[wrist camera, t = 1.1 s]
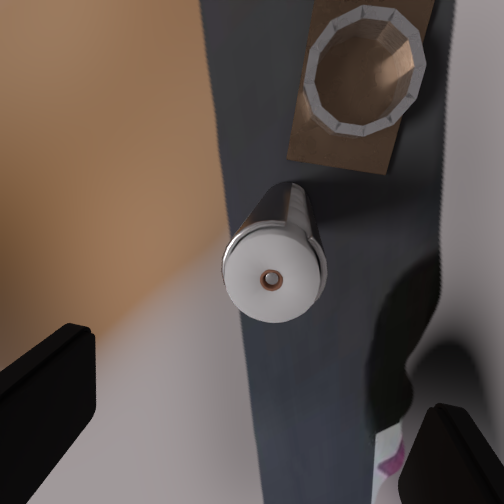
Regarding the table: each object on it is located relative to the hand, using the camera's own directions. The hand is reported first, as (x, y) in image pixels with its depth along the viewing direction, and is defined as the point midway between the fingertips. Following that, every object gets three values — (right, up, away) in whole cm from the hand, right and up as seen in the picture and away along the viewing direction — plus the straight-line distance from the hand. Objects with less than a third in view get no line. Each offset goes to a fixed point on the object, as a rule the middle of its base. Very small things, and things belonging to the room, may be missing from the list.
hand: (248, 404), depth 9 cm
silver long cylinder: (+5, +10, +33) cm, 35 cm away
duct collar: (+12, +23, +27) cm, 38 cm away
